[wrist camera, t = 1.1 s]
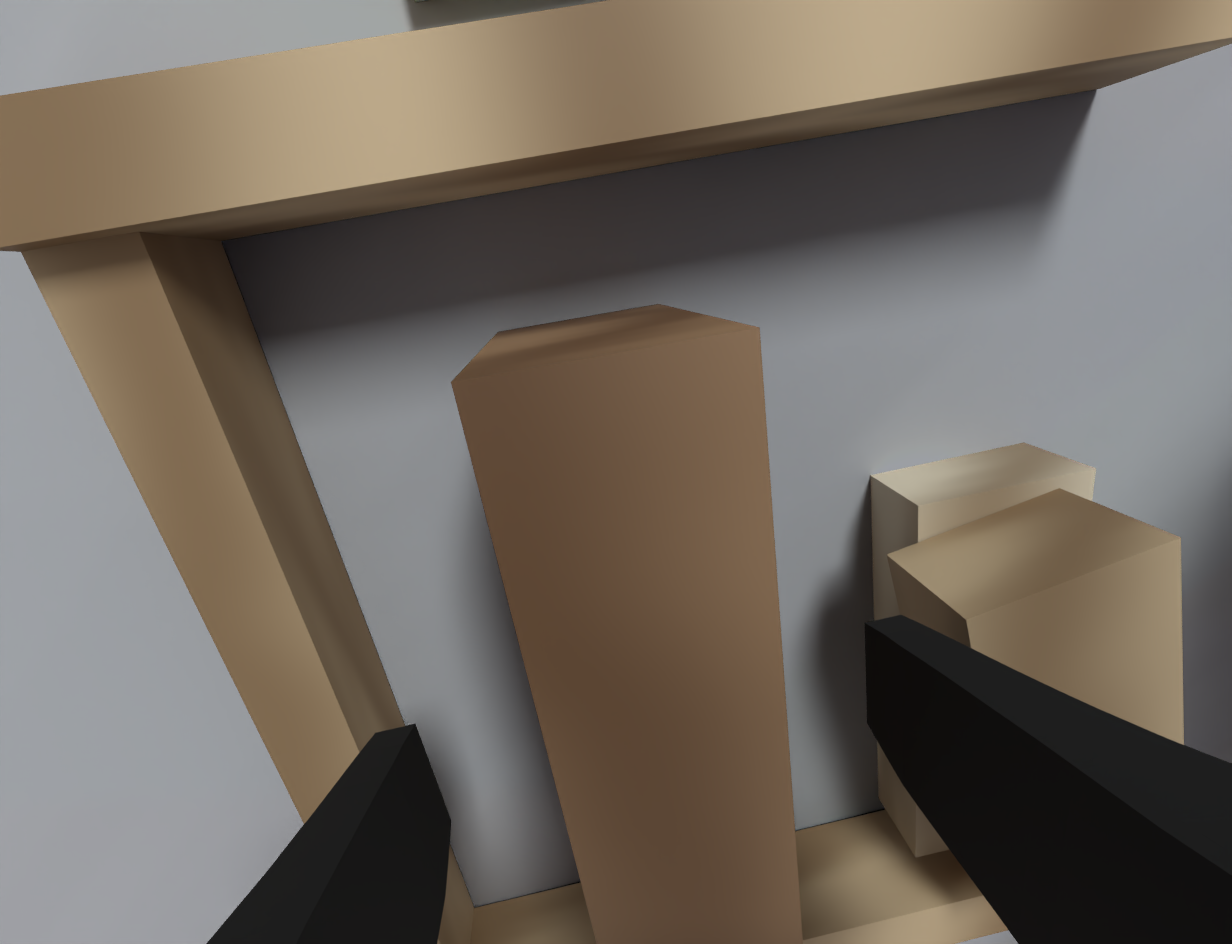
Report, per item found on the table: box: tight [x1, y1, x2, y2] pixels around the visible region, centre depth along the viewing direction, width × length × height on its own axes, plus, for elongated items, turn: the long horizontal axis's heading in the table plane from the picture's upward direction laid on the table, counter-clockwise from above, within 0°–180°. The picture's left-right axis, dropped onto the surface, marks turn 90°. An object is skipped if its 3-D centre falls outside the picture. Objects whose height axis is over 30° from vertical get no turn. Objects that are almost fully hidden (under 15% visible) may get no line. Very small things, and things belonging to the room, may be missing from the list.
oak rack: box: [0, 0, 1232, 944], centre depth 11 cm, size 17×20×2 cm
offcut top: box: [887, 488, 1184, 745], centre depth 11 cm, size 4×8×2 cm, turn 20°
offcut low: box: [870, 443, 1096, 857], centre depth 13 cm, size 4×10×2 cm, turn 10°
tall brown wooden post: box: [451, 304, 803, 944], centre depth 10 cm, size 3×12×6 cm, turn 9°
